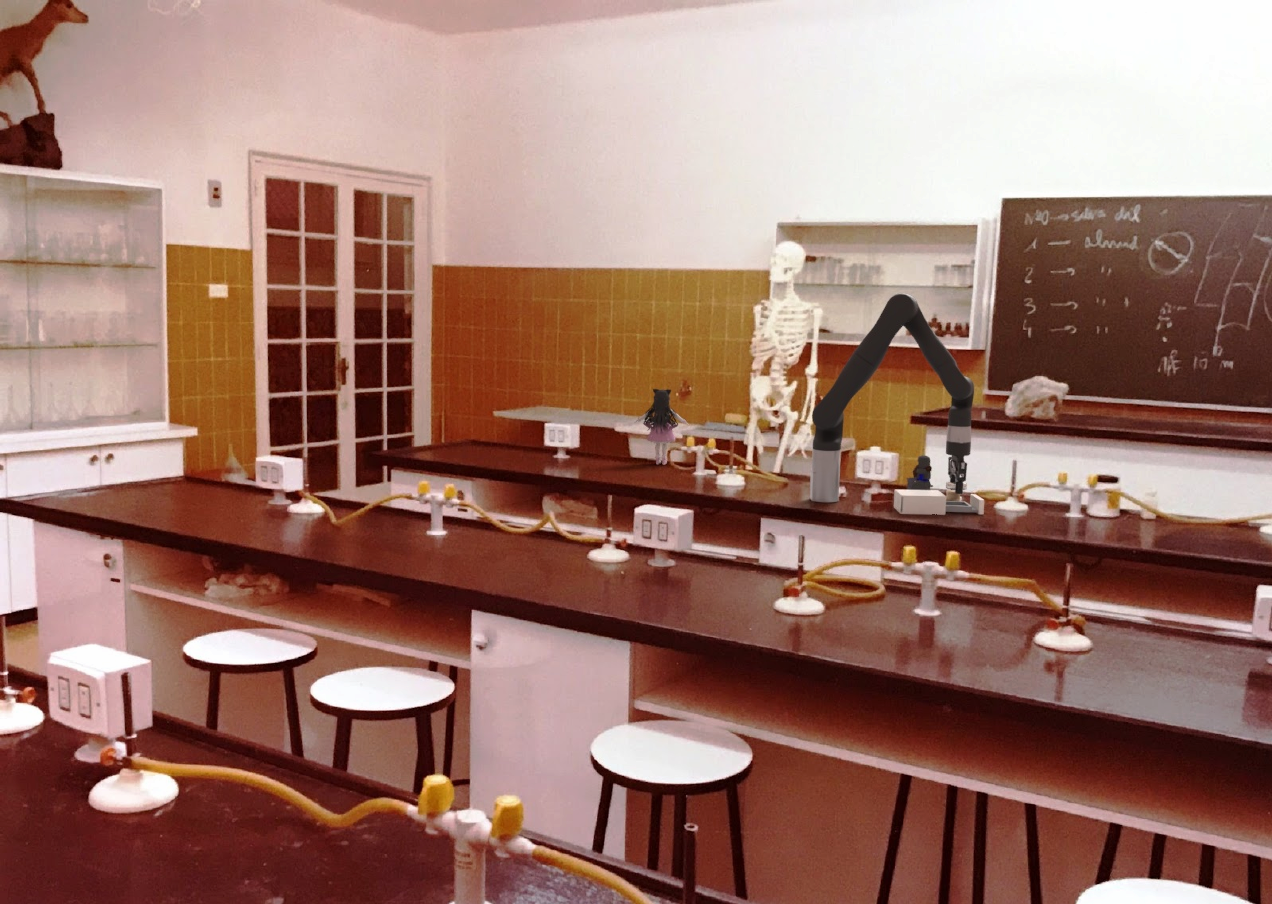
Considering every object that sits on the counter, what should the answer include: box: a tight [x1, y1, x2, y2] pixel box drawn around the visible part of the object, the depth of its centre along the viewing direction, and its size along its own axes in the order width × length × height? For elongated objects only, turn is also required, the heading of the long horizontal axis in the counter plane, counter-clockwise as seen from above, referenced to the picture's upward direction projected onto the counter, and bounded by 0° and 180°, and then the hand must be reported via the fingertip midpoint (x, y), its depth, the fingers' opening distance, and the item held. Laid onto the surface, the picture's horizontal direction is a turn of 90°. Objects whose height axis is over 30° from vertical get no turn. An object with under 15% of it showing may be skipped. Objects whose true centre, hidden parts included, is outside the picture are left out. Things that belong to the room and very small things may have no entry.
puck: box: [945, 481, 968, 491], centre depth 363 cm, size 6×6×2 cm
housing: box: [893, 489, 946, 516], centre depth 364 cm, size 14×11×6 cm
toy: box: [905, 455, 934, 490], centre depth 384 cm, size 11×10×15 cm
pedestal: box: [945, 489, 961, 501], centre depth 373 cm, size 4×4×5 cm
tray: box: [945, 493, 985, 515], centre depth 364 cm, size 16×11×5 cm, turn 89°
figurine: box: [633, 388, 690, 466], centre depth 452 cm, size 22×10×30 cm, turn 77°
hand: (956, 491), depth 363 cm, fingers closed on puck, 6 cm apart
